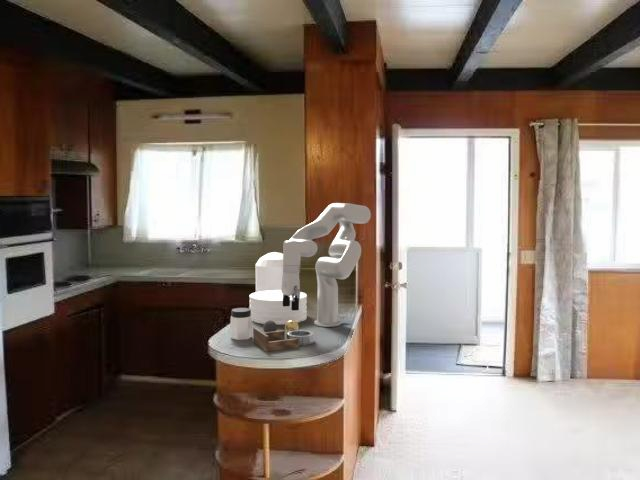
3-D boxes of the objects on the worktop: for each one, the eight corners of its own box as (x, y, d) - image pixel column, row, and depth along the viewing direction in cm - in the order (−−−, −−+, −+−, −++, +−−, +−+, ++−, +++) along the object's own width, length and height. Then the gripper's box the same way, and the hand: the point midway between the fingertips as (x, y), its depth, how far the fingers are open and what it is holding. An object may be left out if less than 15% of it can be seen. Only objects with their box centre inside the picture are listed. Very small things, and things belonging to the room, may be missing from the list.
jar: (255, 337, 236) (255, 309, 235) (240, 341, 230) (240, 312, 229) (242, 333, 242) (242, 306, 241) (227, 337, 236) (226, 309, 235)
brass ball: (295, 331, 247) (295, 317, 247) (300, 334, 242) (300, 320, 241) (282, 332, 244) (282, 319, 244) (288, 335, 239) (288, 322, 239)
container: (251, 299, 319) (250, 250, 316) (286, 296, 327) (286, 249, 325) (261, 306, 300) (261, 254, 297) (298, 303, 308) (298, 253, 305)
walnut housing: (283, 338, 235) (283, 324, 234) (298, 347, 222) (298, 332, 221) (253, 342, 229) (253, 327, 229) (266, 351, 216) (266, 336, 215)
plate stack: (299, 326, 257) (299, 301, 256) (241, 323, 263) (241, 299, 262) (312, 313, 284) (312, 291, 283) (259, 310, 290) (259, 288, 289)
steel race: (306, 337, 237) (306, 328, 237) (317, 343, 228) (318, 335, 227) (282, 339, 233) (282, 331, 232) (293, 346, 223) (293, 338, 222)
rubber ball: (273, 331, 246) (273, 318, 245) (279, 335, 240) (279, 321, 240) (261, 333, 243) (261, 319, 243) (266, 336, 238) (265, 322, 237)
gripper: (276, 266, 247) (275, 305, 248) (291, 271, 231) (290, 312, 232) (291, 266, 250) (290, 304, 251) (307, 271, 234) (306, 311, 235)
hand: (290, 308), depth 242 cm, fingers open, 9 cm apart
